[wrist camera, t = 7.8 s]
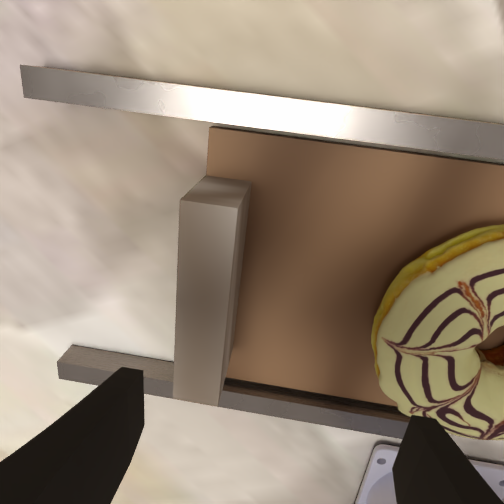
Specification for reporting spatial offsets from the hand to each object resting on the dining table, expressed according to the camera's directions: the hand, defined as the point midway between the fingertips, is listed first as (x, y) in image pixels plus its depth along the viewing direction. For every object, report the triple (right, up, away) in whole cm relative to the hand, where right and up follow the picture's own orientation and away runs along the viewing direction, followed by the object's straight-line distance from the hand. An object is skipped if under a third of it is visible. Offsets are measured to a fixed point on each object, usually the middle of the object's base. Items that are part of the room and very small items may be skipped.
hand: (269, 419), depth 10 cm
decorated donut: (+11, +1, +9) cm, 14 cm away
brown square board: (+6, +3, +8) cm, 10 cm away
